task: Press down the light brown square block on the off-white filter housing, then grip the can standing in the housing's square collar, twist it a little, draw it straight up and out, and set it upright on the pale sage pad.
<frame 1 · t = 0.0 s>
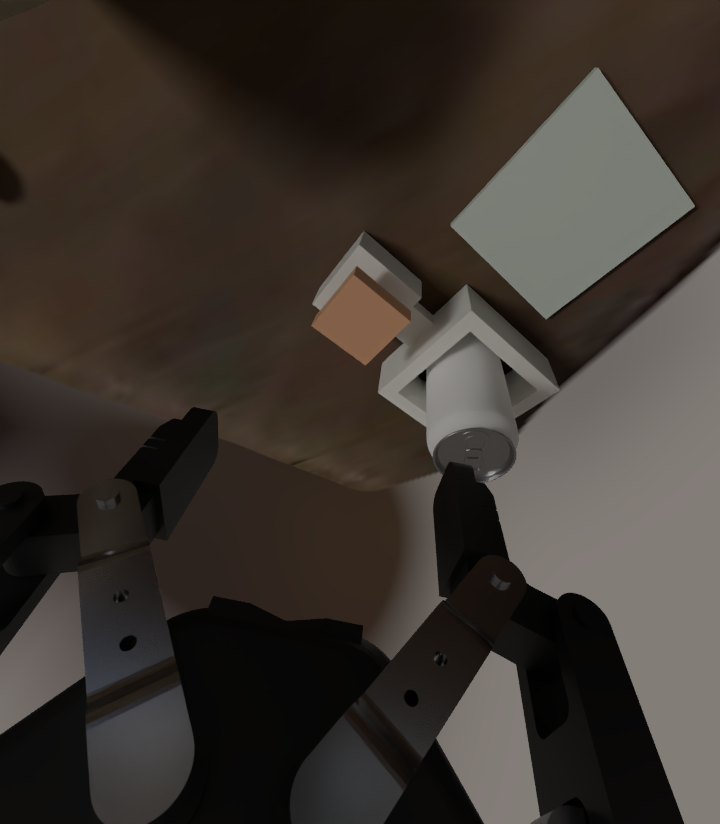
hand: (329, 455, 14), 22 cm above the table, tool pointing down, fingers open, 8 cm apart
light brown square block: (363, 308, 30), point 4 cm above the table, slide at 0.0 cm
can: (461, 359, 37), resting in filter housing
filter housing: (422, 328, 35), on the table
pad: (565, 214, 28), on the table
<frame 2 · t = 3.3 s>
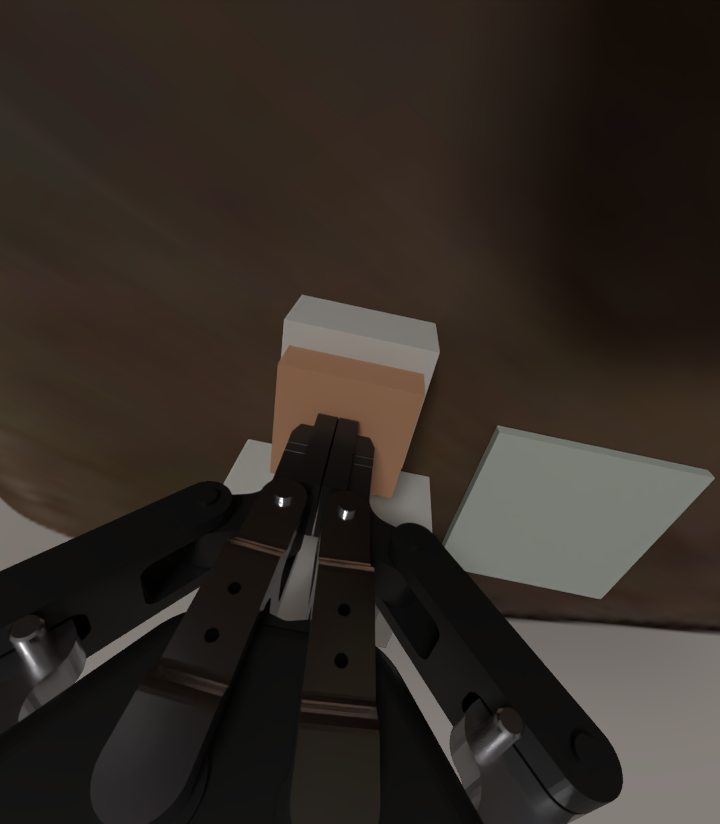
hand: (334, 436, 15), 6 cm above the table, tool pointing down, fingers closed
light brown square block: (348, 404, 17), point 3 cm above the table, slide at 1.0 cm, touching gripper
can: (327, 516, 26), resting in filter housing
filter housing: (338, 460, 23), on the table
pad: (553, 519, 23), on the table
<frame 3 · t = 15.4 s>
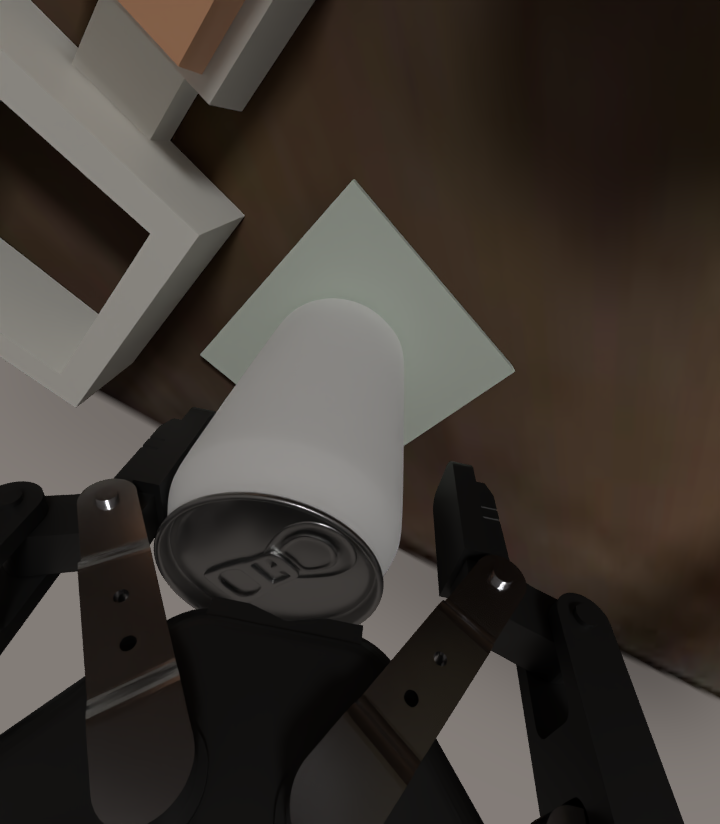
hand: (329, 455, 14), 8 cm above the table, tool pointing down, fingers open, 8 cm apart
can: (338, 358, 20), resting on pad
filter housing: (133, 111, 15), on the table
pad: (354, 357, 20), on the table
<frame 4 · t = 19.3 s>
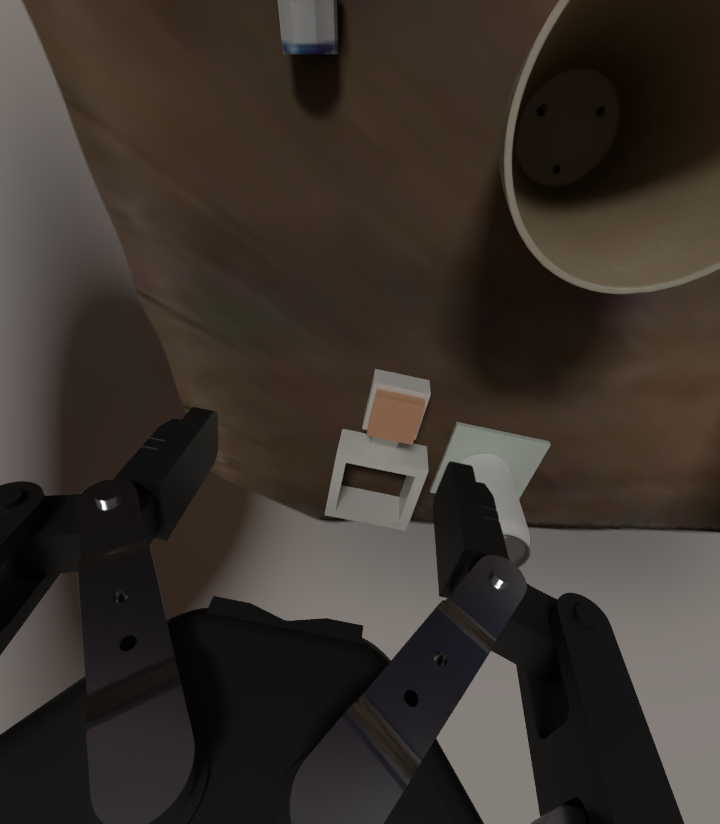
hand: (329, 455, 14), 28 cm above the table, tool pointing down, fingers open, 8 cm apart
light brown square block: (395, 409, 43), point 2 cm above the table, slide at 1.8 cm
can: (480, 470, 49), resting on pad
filter housing: (384, 438, 48), on the table
pad: (486, 466, 49), on the table
plant pot: (563, 134, 31), on the table
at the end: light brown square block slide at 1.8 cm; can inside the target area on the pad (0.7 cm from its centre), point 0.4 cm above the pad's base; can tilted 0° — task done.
